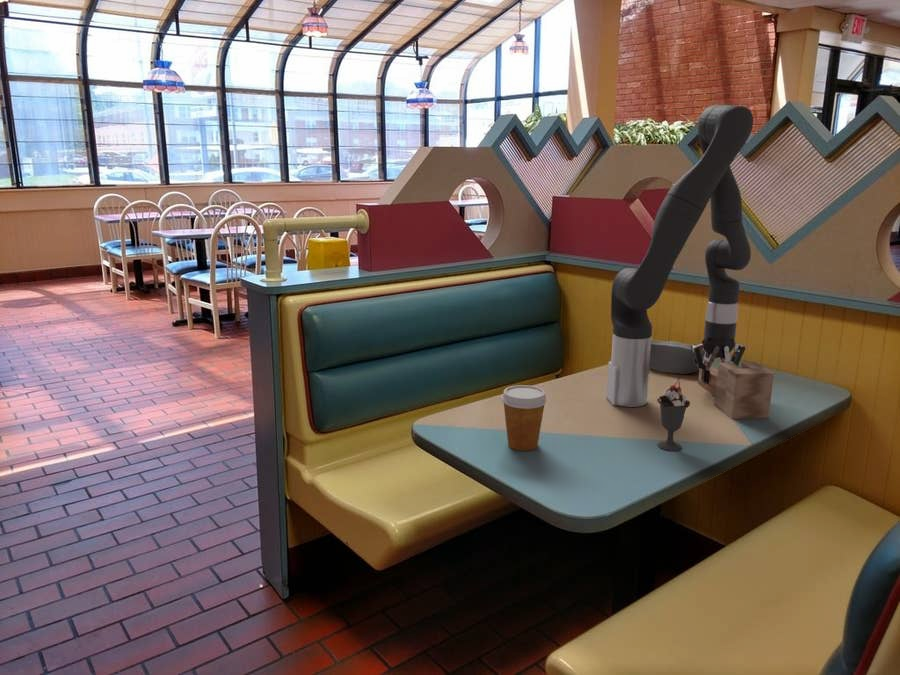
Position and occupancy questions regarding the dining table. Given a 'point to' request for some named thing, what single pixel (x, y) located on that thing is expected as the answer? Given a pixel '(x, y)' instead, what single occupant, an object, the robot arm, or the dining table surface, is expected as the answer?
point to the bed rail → (712, 381)
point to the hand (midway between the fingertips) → (714, 382)
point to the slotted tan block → (744, 390)
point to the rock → (672, 357)
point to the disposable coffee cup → (523, 415)
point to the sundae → (672, 415)
